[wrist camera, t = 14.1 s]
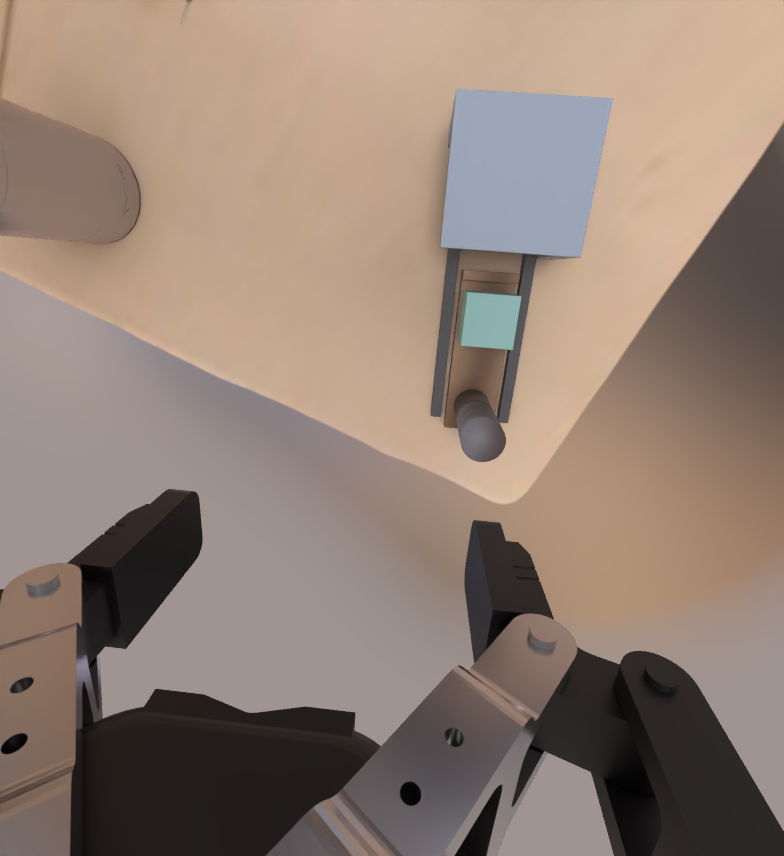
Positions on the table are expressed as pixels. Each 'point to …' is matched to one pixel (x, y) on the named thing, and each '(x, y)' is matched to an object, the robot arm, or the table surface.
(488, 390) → the tray with upright handle
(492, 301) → the block
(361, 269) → the table surface
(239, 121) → the table surface
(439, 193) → the table surface
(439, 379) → the lane
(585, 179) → the open-front cubby
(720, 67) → the table surface
